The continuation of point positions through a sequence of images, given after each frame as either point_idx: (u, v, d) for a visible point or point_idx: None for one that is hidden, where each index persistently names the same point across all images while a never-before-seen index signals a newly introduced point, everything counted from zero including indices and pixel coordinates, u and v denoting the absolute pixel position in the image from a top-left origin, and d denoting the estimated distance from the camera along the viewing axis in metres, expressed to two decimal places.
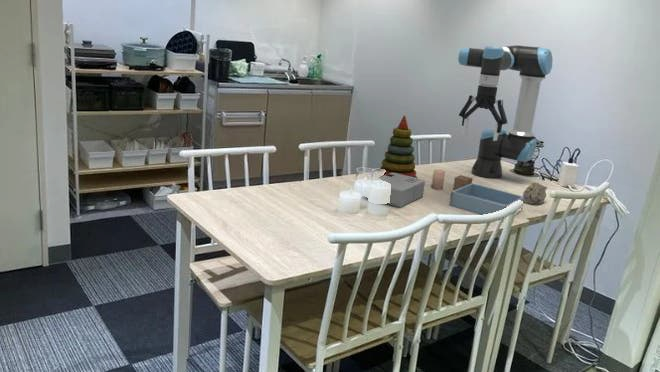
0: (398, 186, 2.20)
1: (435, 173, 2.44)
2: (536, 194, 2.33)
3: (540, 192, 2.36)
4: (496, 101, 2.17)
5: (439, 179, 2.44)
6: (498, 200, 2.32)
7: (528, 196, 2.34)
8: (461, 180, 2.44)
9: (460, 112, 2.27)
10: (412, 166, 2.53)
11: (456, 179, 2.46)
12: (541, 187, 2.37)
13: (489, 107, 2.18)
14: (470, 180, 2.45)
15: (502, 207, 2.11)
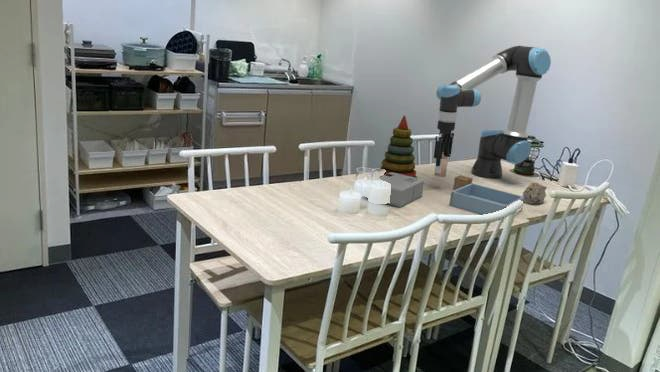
0: (397, 185, 2.21)
1: None
2: (536, 194, 2.33)
3: (540, 192, 2.36)
4: None
5: (442, 166, 2.43)
6: (498, 200, 2.32)
7: (528, 196, 2.35)
8: (461, 180, 2.44)
9: None
10: (412, 166, 2.53)
11: (456, 179, 2.46)
12: (541, 187, 2.37)
13: None
14: (470, 180, 2.45)
15: (502, 207, 2.11)
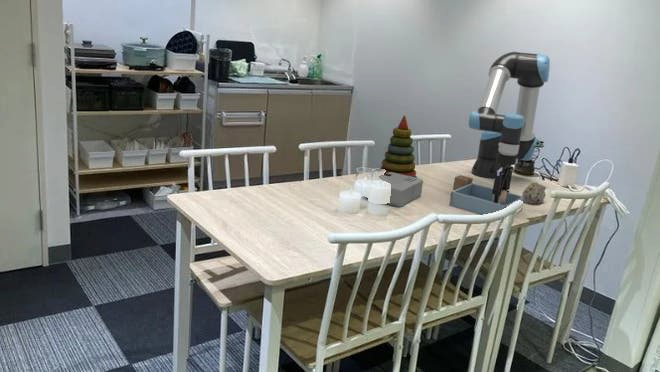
0: (397, 185, 2.21)
1: None
2: (535, 194, 2.34)
3: (539, 192, 2.36)
4: None
5: (501, 199, 2.19)
6: None
7: (528, 196, 2.35)
8: (461, 180, 2.44)
9: None
10: (412, 166, 2.53)
11: (456, 179, 2.46)
12: (540, 187, 2.37)
13: None
14: (470, 180, 2.45)
15: (502, 207, 2.11)
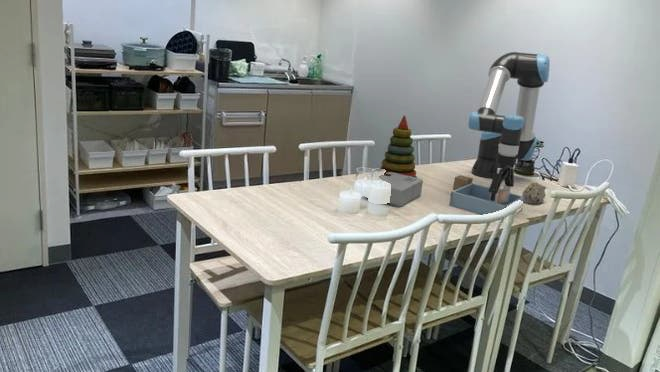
0: (397, 185, 2.21)
1: None
2: (535, 194, 2.34)
3: (539, 192, 2.36)
4: None
5: (500, 199, 2.19)
6: None
7: (528, 196, 2.35)
8: (461, 180, 2.44)
9: None
10: (412, 166, 2.53)
11: (456, 179, 2.46)
12: (540, 187, 2.37)
13: None
14: (470, 180, 2.45)
15: (502, 207, 2.11)
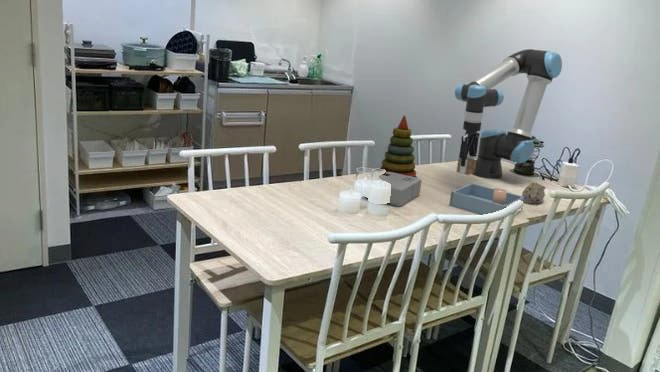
0: (397, 185, 2.21)
1: (496, 193, 2.19)
2: (535, 194, 2.34)
3: (539, 192, 2.36)
4: None
5: (500, 199, 2.19)
6: None
7: (528, 196, 2.35)
8: None
9: None
10: (412, 166, 2.53)
11: (459, 161, 2.43)
12: (540, 187, 2.37)
13: None
14: (474, 162, 2.43)
15: (502, 207, 2.11)
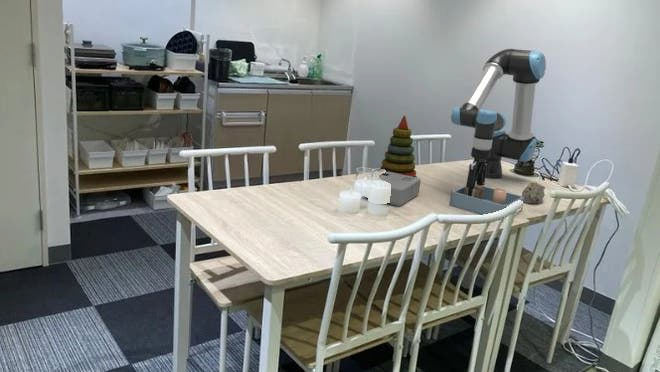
0: (396, 185, 2.21)
1: (496, 193, 2.19)
2: (535, 194, 2.34)
3: (539, 192, 2.36)
4: None
5: (500, 199, 2.19)
6: None
7: (527, 196, 2.35)
8: None
9: None
10: (412, 166, 2.53)
11: (466, 190, 2.27)
12: (539, 187, 2.37)
13: None
14: (481, 191, 2.27)
15: (502, 207, 2.11)
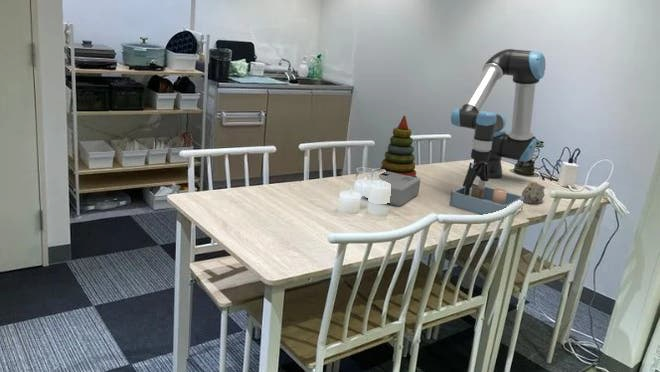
0: (396, 185, 2.21)
1: (496, 193, 2.19)
2: (535, 194, 2.34)
3: (538, 191, 2.36)
4: None
5: (500, 199, 2.19)
6: None
7: (527, 196, 2.35)
8: (472, 191, 2.25)
9: None
10: (412, 166, 2.53)
11: None
12: (539, 186, 2.37)
13: None
14: (481, 191, 2.27)
15: (502, 207, 2.11)
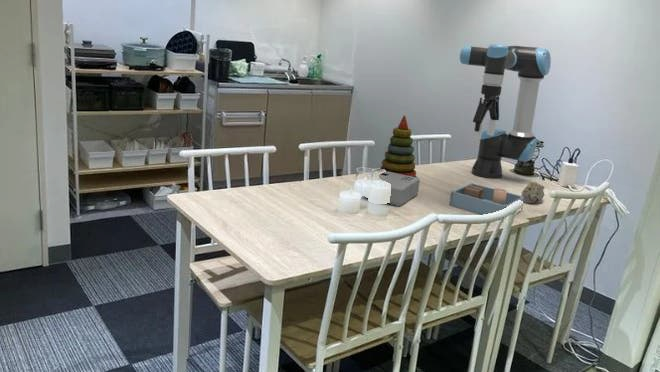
0: (396, 185, 2.21)
1: (496, 193, 2.19)
2: (535, 194, 2.34)
3: (538, 191, 2.36)
4: None
5: (500, 199, 2.19)
6: None
7: (527, 196, 2.35)
8: (472, 191, 2.25)
9: None
10: (412, 166, 2.53)
11: (466, 190, 2.27)
12: (539, 186, 2.37)
13: None
14: (481, 191, 2.27)
15: (502, 207, 2.11)
